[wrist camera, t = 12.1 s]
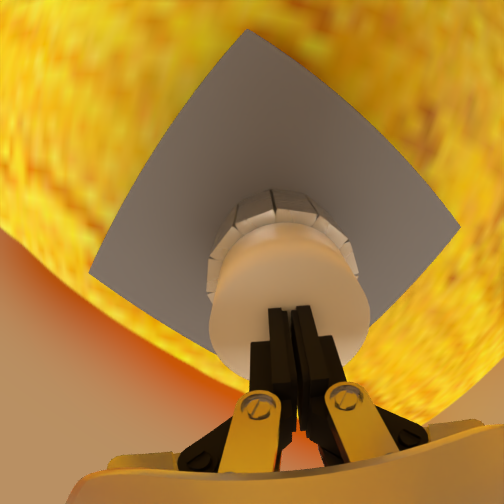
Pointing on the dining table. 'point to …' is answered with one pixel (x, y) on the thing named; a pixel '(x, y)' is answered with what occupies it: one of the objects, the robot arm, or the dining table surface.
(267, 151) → the square plate with socket
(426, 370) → the dining table surface
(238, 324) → the plug
